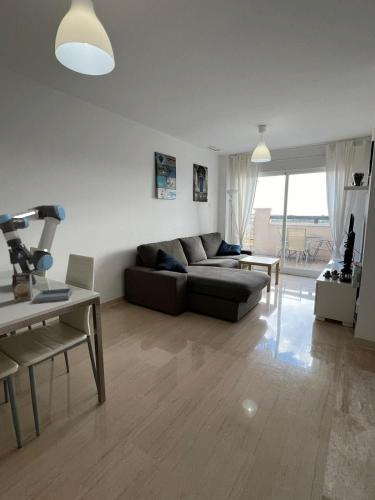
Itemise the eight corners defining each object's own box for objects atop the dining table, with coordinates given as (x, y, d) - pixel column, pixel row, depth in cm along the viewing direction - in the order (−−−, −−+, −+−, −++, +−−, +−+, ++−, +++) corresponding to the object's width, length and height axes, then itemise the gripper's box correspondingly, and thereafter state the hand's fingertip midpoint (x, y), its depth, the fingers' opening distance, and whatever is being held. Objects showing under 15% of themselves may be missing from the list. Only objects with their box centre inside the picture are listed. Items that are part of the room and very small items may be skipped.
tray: (41, 295, 165) (41, 290, 164) (72, 292, 170) (71, 288, 169) (34, 303, 150) (34, 298, 149) (68, 300, 155) (68, 295, 154)
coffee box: (13, 302, 151) (11, 275, 149) (16, 299, 157) (13, 273, 155) (31, 300, 154) (29, 274, 152) (33, 297, 160) (31, 272, 158)
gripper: (-4, 245, 161) (9, 276, 164) (18, 235, 149) (31, 269, 152) (8, 242, 168) (20, 272, 170) (30, 233, 156) (43, 265, 159)
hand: (26, 271), depth 161 cm, fingers open, 13 cm apart
